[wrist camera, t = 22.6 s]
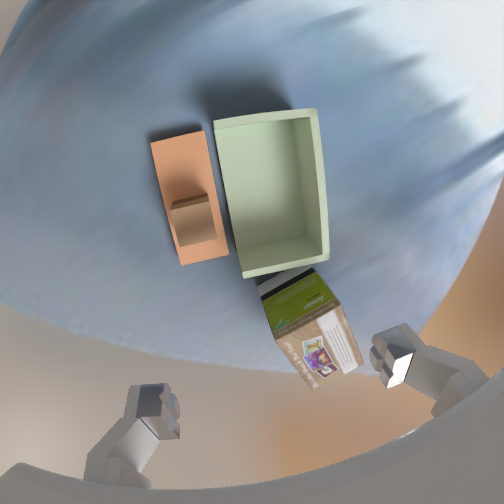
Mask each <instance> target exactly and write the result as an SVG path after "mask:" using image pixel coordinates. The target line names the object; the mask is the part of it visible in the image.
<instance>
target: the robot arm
mask: <svg viewBox="0 0 504 504" xmlns="http://www.w3.org/2000/svg"><path fill="white" fill-rule="evenodd" d="M372 343H373V347H372V348H371V349H370V361H371V364H372V366H373V368H374V369H375V370H376V371H378V372H380V379H381V381H382V382H383V384H384V385H385V387H386V388H390V387H392V386H395V385H397V384H399V383H402V382H404V383H406V384H407V385H409V386H411V387H413V388H414V389H416V390H418V391H420V392H422V393H424V394H425V395H427V396H429V397H431V398H433V399H434V400H436V403H435V405H434V406H433V408H432V410H431V413H432V415H433V416H434V419H432V420H430V421H429V422H427V423H425V424H423V425H421V426H420V427H418V428H416V429H414V430H413V431H410V432H409V433H407V434H405V435H403V436H401V437H399V438H397V439H395V440H393V441H390V442H388V443H386V444H384V445H382V446H379V447H377V448H375V449H373V450H370V451H368V452H365V453H363V454H360V455H357V456H355V457H352V458H350V459H347V460H344V461H341V462H338V463H335V464H332V465H329V466H326V467H323V468H319V469H316V470H312V471H309V472H305V473H301V474H297V475H293V476H289V477H285V478H280V479H275V480H270V481H265V482H259V483H253V484H246V485H239V486H230V487H220V488H207V489H151V481H150V480H149V479H148V478H146V477H145V476H144V475H142V474H140V472H141V470H142V469H143V467H144V466H145V464H146V463H147V461H148V460H149V458H150V456H151V455H152V453H153V452H154V450H155V448H156V447H157V445H158V444H159V442H160V440H169V439H179V437H180V425H179V423H178V422H177V421H176V420H177V419H178V418H179V416H180V408H179V402H178V400H177V398H176V396H175V395H174V394H172V393H170V392H171V388H170V386H169V385H168V384H167V383H161V384H147V385H146V384H145V385H132V386H131V387H130V388H129V392H128V396H127V401H126V407H125V412H124V417H123V418H120V419H119V420H118V421H117V422H116V423H115V424H114V426H113V427H112V428H111V429H110V430H109V431H108V432H107V433H106V434H105V435H104V436H103V438H102V439H101V440H100V441H99V442H98V443H97V444H96V445H95V446H94V447H93V448H92V449H91V451H90V452H89V453H88V455H87V461H86V467H85V472H84V478H83V480H82V479H77V478H73V477H68V476H64V475H60V474H57V473H53V472H50V471H46V470H43V469H40V468H37V467H34V466H31V465H29V464H26V463H17V464H16V465H14V466H13V467H11V468H10V469H9V470H8V471H7V472H6V473H5V474H3V475H2V476H1V477H0V504H504V367H503V368H502V369H501V370H500V371H499V372H498V373H497V374H495V375H494V376H493V377H492V378H491V379H489V378H488V377H487V376H486V375H485V374H484V372H483V371H482V370H481V369H480V368H479V366H478V365H477V364H476V363H475V362H474V361H473V360H470V359H467V358H464V357H461V356H459V355H456V354H453V353H450V352H447V351H444V350H442V349H439V348H436V347H433V346H430V345H429V346H426V345H425V344H424V342H423V341H422V340H421V339H420V338H419V337H418V336H417V334H416V333H415V332H414V331H413V330H412V329H411V328H410V327H409V325H408V324H406V323H404V324H401V325H399V326H396V327H393V328H390V329H388V330H385V331H383V332H380V333H378V334H375V335H374V336H373V337H372Z"/></svg>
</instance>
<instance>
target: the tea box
mask: <svg viewBox="0 0 504 504" xmlns="http://www.w3.org/2000/svg"><path fill="white" fill-rule="evenodd" d="M257 289H258V292H259V295H260V298H261V301H262V304H263V307H264V310H265V313H266V316H267V319H268V322H269V325H270V328H271V331H272V334H273V336H274V339H275V341H276V343H277V344H278V346H279V347H280V348H281V350H282V351H283V352H284V354H285V355H286V356H287V358H288V359H289V360H290V362H291V363H292V364H293V366H294V367H295V368H296V370H297V371H298V373H299V374H300V375H301V377H302V378H303V379H304V381H305V382H306V383H307V385H308V386H309V387H310V388H311V390H312V391H314V390H316V389H318V388H320V387H322V386H324V385H326V384H328V383H330V382H331V381H333V380H335V379H337V378H339V377H341V376H342V375H344V374H346V373H348V372H349V371H351V370H353V369H355V368H356V367H358V366H360V365H362V364H364V362H363V359H362V356H361V354H360V351H359V348H358V346H357V343H356V341H355V338H354V336H353V333H352V331H351V328H350V326H349V323H348V320H347V318H346V315H345V313H344V310H343V308H342V306H341V304H340V302H339V301H338V299H337V298H336V296H335V295H334V294H333V292H332V291H331V290H330V288H329V287H328V286H327V284H326V283H325V282H324V281H323V279H322V278H321V277H320V275H319V274H318V273H317V271H316V270H315V269H314V268H313V266H312V265H311V264H309V265H304V266H300V267H295V268H291V269H287V270H285V271H283V272H282V273H280V274H278V275H276V276H274V277H272V278H271V279H269V280H267V281H265V282H264V283H262V284H260V285H258V286H257Z"/></svg>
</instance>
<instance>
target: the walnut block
mask: <svg viewBox="0 0 504 504" xmlns="http://www.w3.org/2000/svg"><path fill="white" fill-rule="evenodd" d="M170 213H171V217H172V221H173V225H174V229H175V232H176V236H177V240H178V243H179V247H184V246H188V245H192V244H197V243H201V242H205V241H209V240H214V239H217V234H216V230H215V225H214V220H213V216H212V211H211V206H210V202H209V197H208V193H207V194H203V195H198V196H194V197H190V198H185V199H181V200H177V201H173V203H172V206H171V208H170Z"/></svg>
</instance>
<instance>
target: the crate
mask: <svg viewBox="0 0 504 504" xmlns="http://www.w3.org/2000/svg"><path fill="white" fill-rule="evenodd" d="M213 127H214V133H215V138H216V144H217V149H218V155H219V160H220V166H221V171H222V176H223V182H224V187H225V192H226V197H227V203H228V208H229V213H230V218H231V223H232V228H233V233H234V238H235V243H236V248H237V253H238V258H239V262H240V266H241V270H242V274H243V279H244V278H249V277H254V276H259V275H263V274H268V273H273V272H277V271H282V270H286V269H291V268H295V267H300V266H304V265H309V264H313V263H318V262H322V261H326V260H330V253H329V230H328V213H327V198H326V186H325V175H324V165H323V155H322V146H321V138H320V130H319V123H318V116H317V109H316V108H310V109H296V110H285V111H275V112H266V113H259V114H251V115H244V116H238V117H232V118H226V119H220V120H215V121H213Z"/></svg>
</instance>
